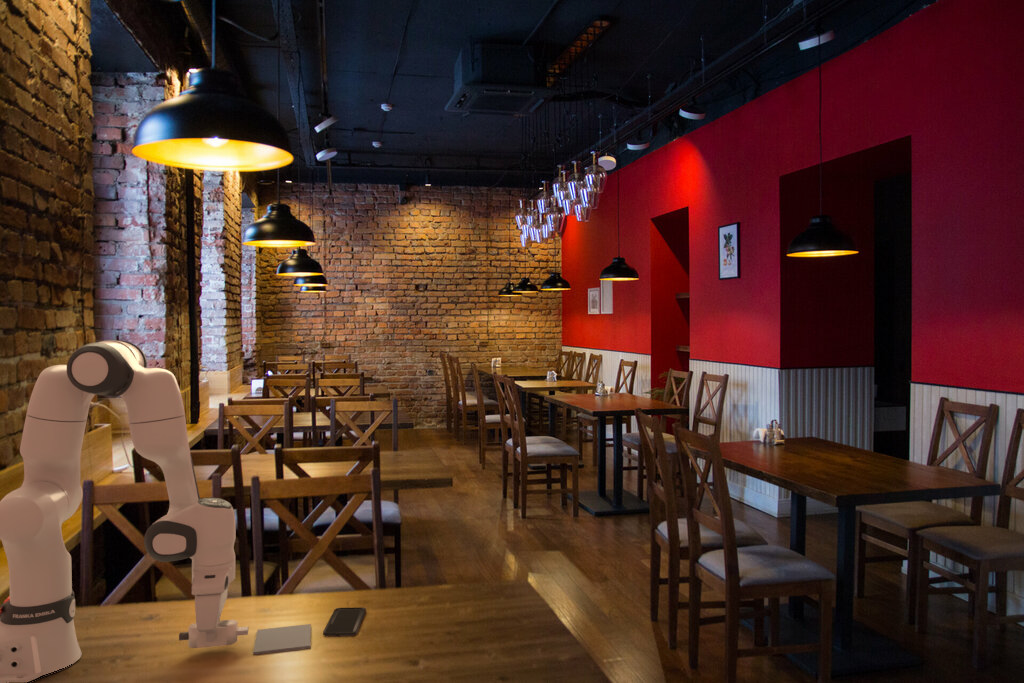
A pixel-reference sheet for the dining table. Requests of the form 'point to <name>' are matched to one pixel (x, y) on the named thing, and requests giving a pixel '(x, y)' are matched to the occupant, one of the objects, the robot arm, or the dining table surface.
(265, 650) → the pad
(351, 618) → the phone
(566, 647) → the dining table surface
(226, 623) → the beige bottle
